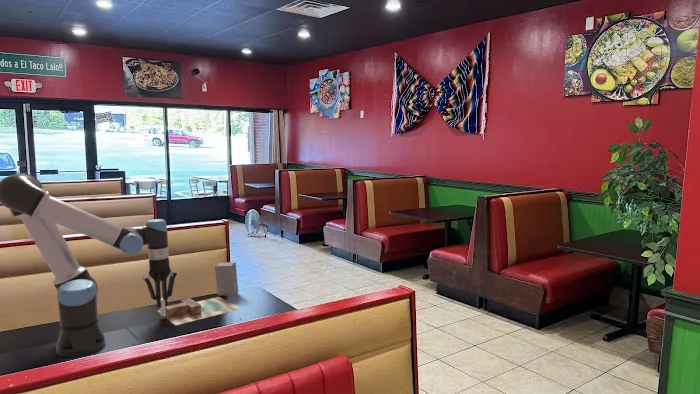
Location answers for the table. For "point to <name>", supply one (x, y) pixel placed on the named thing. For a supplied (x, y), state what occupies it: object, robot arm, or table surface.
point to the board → (206, 310)
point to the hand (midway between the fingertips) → (162, 314)
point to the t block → (183, 309)
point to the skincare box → (226, 278)
